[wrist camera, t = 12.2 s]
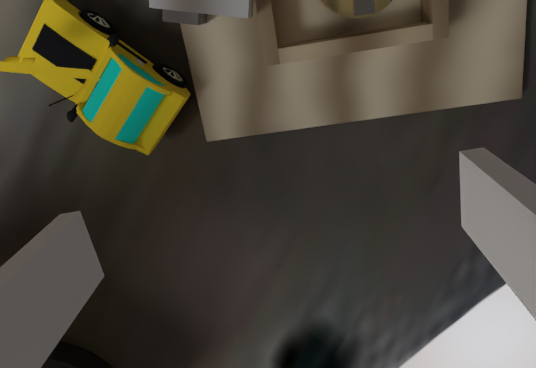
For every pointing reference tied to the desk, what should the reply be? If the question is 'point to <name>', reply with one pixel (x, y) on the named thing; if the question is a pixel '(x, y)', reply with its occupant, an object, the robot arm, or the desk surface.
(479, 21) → the shaft rig
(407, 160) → the desk surface
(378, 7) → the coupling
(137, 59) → the toy car
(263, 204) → the desk surface
